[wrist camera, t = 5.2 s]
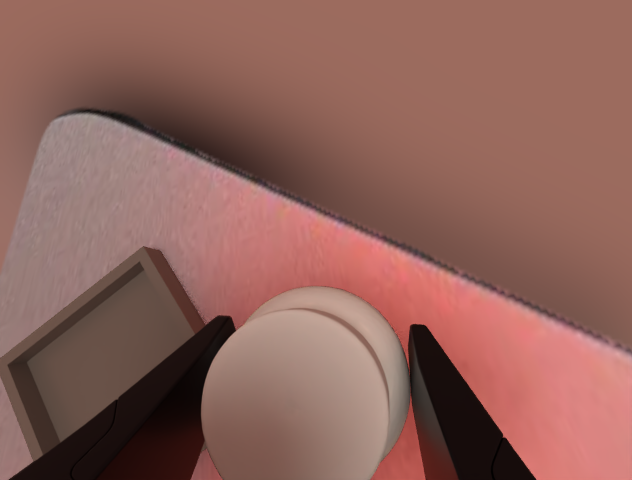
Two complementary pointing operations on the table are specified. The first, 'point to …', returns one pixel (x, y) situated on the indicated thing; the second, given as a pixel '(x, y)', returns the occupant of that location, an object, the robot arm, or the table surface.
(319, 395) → the pill bottle
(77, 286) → the table surface
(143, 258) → the tray
